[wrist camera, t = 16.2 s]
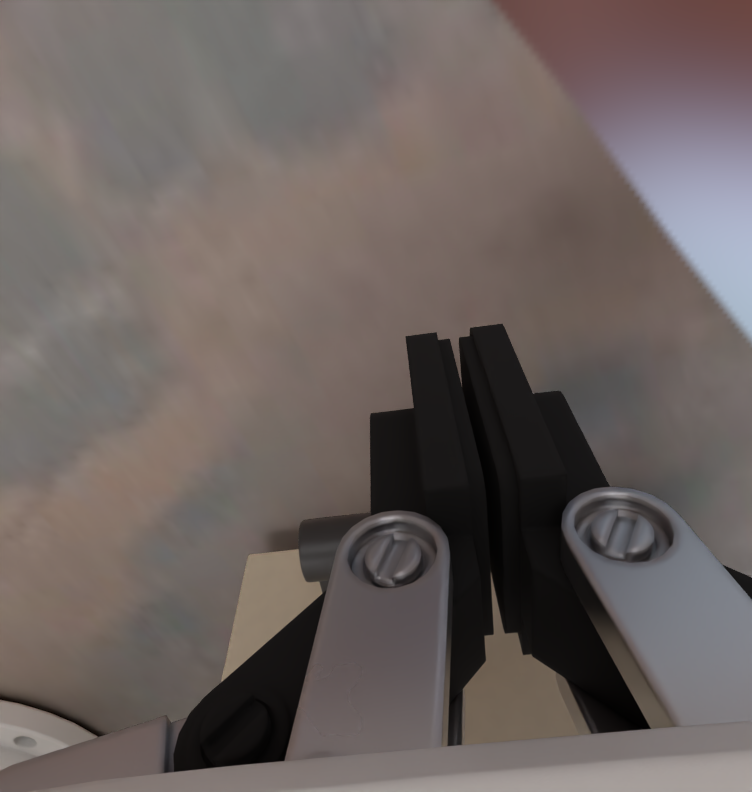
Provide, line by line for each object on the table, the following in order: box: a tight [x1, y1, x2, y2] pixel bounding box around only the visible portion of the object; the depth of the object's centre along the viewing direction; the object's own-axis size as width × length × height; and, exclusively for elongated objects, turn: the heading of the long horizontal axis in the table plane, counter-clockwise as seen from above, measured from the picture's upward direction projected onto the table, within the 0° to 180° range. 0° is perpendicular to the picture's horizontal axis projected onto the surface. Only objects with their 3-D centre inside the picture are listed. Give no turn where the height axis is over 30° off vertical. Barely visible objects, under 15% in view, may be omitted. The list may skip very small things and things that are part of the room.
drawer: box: [221, 512, 579, 745], centre depth 19 cm, size 19×13×7 cm
